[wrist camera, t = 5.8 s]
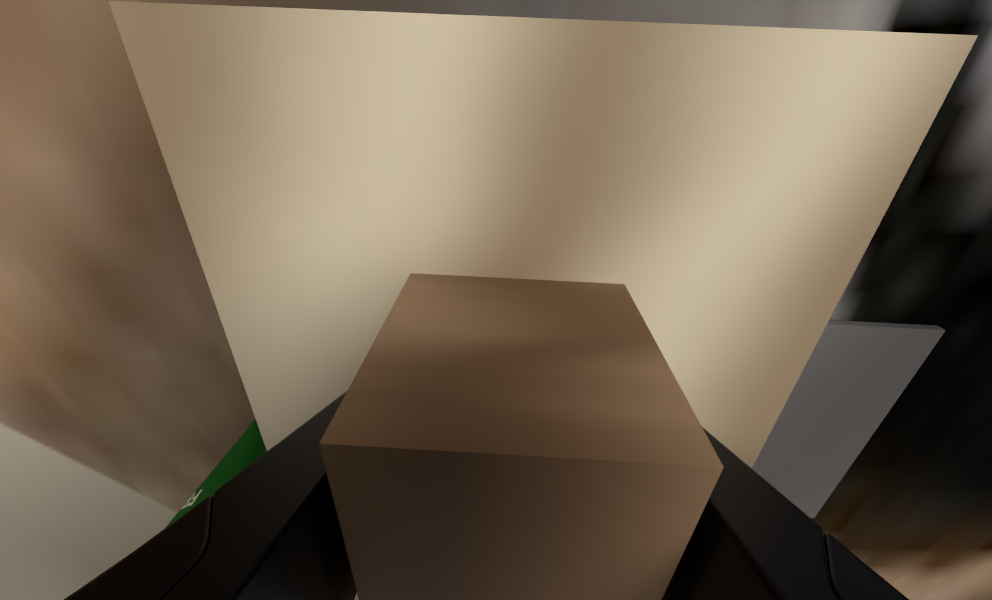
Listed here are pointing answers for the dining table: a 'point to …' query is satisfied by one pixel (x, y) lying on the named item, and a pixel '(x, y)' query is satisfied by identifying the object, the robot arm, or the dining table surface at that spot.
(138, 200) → the dining table surface
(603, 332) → the lid
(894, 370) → the mat
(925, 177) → the dining table surface
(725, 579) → the robot arm
